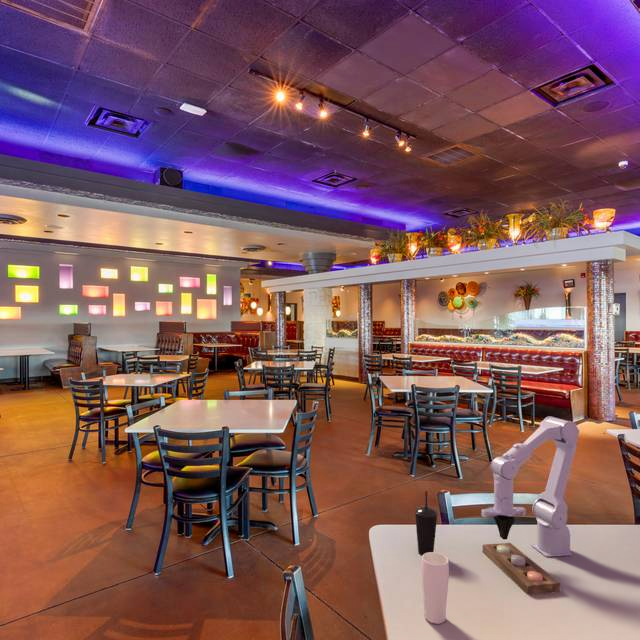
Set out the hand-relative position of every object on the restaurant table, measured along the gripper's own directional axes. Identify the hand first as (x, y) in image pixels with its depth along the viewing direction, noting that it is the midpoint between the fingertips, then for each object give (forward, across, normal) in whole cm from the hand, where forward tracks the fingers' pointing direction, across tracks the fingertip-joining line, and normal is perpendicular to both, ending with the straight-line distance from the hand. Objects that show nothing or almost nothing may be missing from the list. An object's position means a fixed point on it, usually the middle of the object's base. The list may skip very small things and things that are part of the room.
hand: (503, 538), depth 144 cm
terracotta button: (+6, 0, -16) cm, 17 cm away
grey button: (+5, 0, -8) cm, 9 cm away
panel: (+6, 0, -8) cm, 10 cm away
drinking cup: (+6, -24, +6) cm, 26 cm away
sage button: (+6, 0, 0) cm, 6 cm away
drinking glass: (+6, -35, -26) cm, 44 cm away
